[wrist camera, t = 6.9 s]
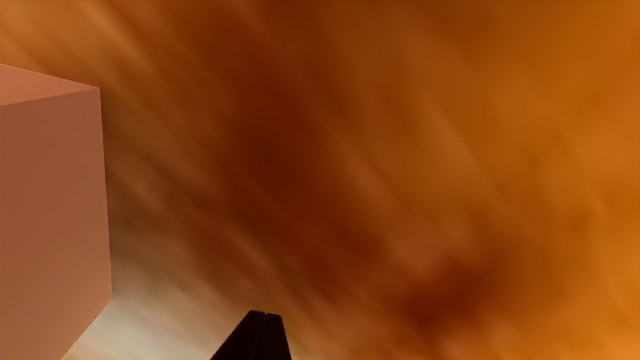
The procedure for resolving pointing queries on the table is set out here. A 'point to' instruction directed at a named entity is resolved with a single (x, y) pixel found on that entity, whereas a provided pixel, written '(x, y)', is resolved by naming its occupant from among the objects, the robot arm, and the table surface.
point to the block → (50, 214)
